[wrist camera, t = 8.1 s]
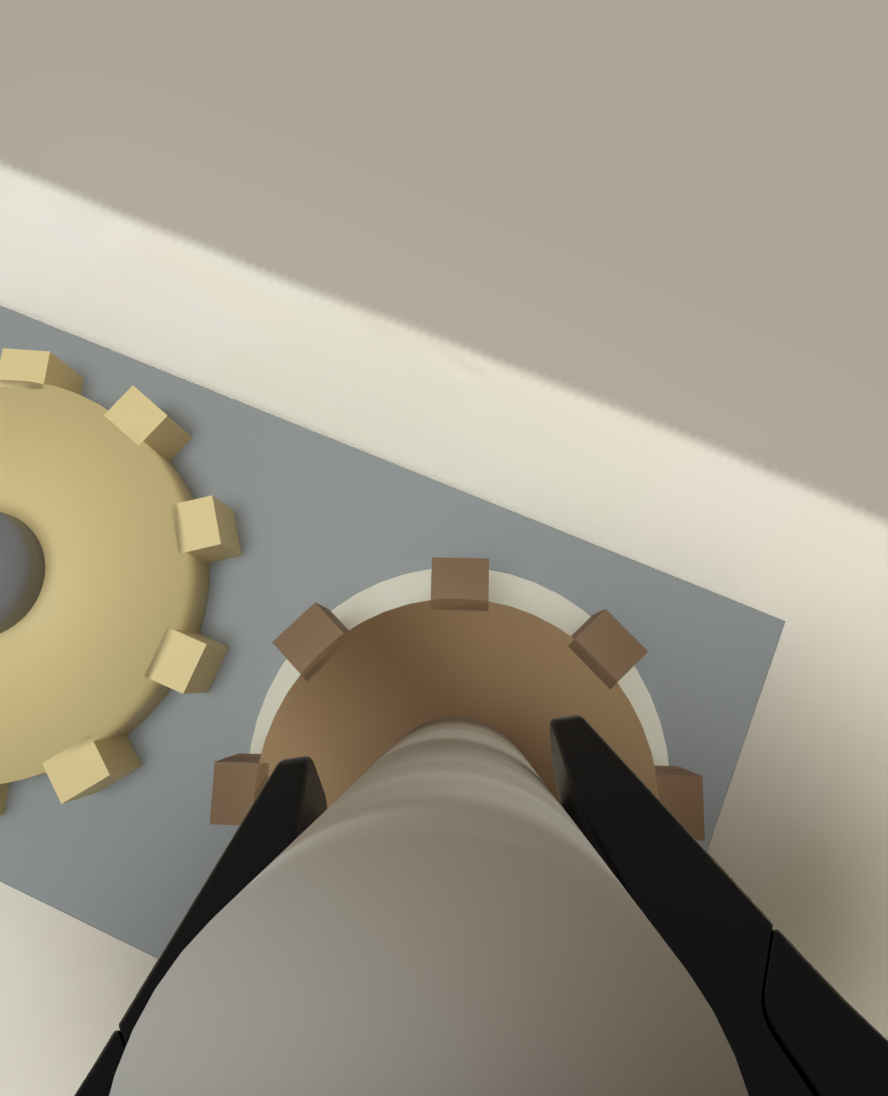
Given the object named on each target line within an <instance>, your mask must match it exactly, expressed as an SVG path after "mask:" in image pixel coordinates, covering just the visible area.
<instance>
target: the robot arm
mask: <svg viewBox="0 0 888 1096" xmlns="http://www.w3.org/2000/svg"><path fill="white" fill-rule="evenodd" d="M550 738H551V754H552V765H553V771H554V777H555V781H556V786H557V791H558V795H559V800H560V804H561V806H562V807H563V808H564V810H565V811H566V812H567V814H568V815H569V816H570V817H571V819H572V820H573V821H574V823H575V824H576V825H577V827H578V828H579V829H580V831H581V832H582V833H583V835H584V836H585V837H586V839H587V840H588V841H589V842H590V844H591V845H592V846H593V848H594V849H595V850H596V852H597V853H598V854H599V856H600V857H601V858H602V860H603V861H604V862H605V863H606V865H607V866H608V867H609V869H610V870H611V871H612V873H613V874H614V875H615V877H616V878H617V879H618V881H619V882H620V883H621V885H622V886H623V887H624V888H625V890H626V891H627V892H628V894H629V895H630V896H631V898H632V899H633V900H634V902H635V903H636V904H637V906H638V907H639V908H640V910H641V911H642V912H643V913H644V915H645V916H646V917H647V919H648V920H649V921H650V923H651V924H652V925H653V927H654V928H655V929H656V931H657V932H658V933H659V934H660V936H661V937H662V938H663V940H664V941H665V942H666V944H667V945H668V946H669V948H670V949H671V950H672V952H673V953H674V954H675V956H676V957H677V958H678V959H679V961H680V962H681V963H682V965H683V966H684V967H685V969H686V970H687V971H688V973H689V974H690V976H691V977H692V979H693V980H694V982H695V984H696V985H697V987H698V988H699V990H700V991H701V993H702V995H703V996H704V998H705V999H706V1001H707V1002H708V1004H709V1006H710V1007H711V1009H712V1010H713V1012H714V1014H715V1016H716V1018H717V1020H718V1022H719V1024H720V1026H721V1028H722V1030H723V1032H724V1034H725V1036H726V1038H727V1041H728V1043H729V1045H730V1047H731V1049H732V1051H733V1053H734V1055H735V1057H736V1060H737V1063H738V1066H739V1069H740V1072H741V1075H742V1078H743V1080H744V1083H745V1086H746V1089H747V1092H748V1095H749V1096H888V1040H887V1039H886V1038H885V1037H884V1036H882V1035H881V1034H880V1033H879V1032H878V1031H877V1030H876V1029H875V1028H874V1027H873V1026H872V1025H871V1024H870V1023H869V1022H868V1021H867V1020H866V1019H865V1018H863V1017H862V1016H861V1015H860V1014H859V1013H858V1012H857V1011H856V1010H855V1009H854V1008H853V1007H852V1006H851V1005H850V1004H849V1003H848V1002H847V1001H846V1000H845V999H844V998H843V997H842V996H841V995H840V994H839V993H838V992H837V991H836V990H835V989H834V988H833V987H832V986H831V985H830V984H829V983H828V982H827V981H826V980H825V979H824V978H823V976H822V975H821V974H820V973H819V972H818V971H817V970H816V969H815V968H814V967H813V966H812V965H811V964H810V963H809V962H808V961H807V960H806V959H805V958H804V957H803V956H802V954H801V953H800V952H799V951H798V950H797V949H796V948H795V947H794V946H793V945H792V944H791V942H790V941H789V940H788V939H787V938H786V937H785V936H784V935H783V934H782V933H781V932H780V931H779V930H774V931H773V923H772V922H771V921H770V920H769V919H768V918H767V917H766V916H765V915H764V913H763V912H762V911H761V910H760V909H759V908H758V907H757V906H756V905H755V904H754V903H753V901H752V900H751V899H750V898H749V897H748V896H747V895H746V894H745V893H744V892H743V891H742V889H741V888H740V887H739V886H738V885H737V884H736V883H735V882H734V881H733V880H732V879H731V877H730V876H729V875H728V874H727V873H726V872H725V871H724V870H723V869H722V868H721V867H720V865H719V864H718V863H717V862H716V861H715V860H714V859H713V858H712V857H711V856H710V855H709V853H708V852H707V851H706V850H705V849H704V848H703V847H702V846H701V845H700V844H699V843H698V841H697V840H696V839H695V838H694V837H693V836H692V835H691V834H690V833H689V832H688V831H687V829H686V828H685V827H684V826H683V825H682V824H681V823H680V822H679V821H678V820H677V819H676V818H675V816H674V815H673V814H672V813H671V812H670V811H669V810H668V809H667V808H666V807H665V806H664V804H663V803H662V802H661V801H660V800H659V799H658V798H657V797H656V796H655V795H654V794H653V792H652V791H651V790H650V789H649V788H648V787H647V786H646V785H645V784H644V783H643V782H642V780H641V779H640V778H639V777H638V776H637V775H636V774H635V773H634V772H633V771H632V770H631V768H630V767H629V766H628V765H627V764H626V763H625V762H624V761H623V760H622V759H621V758H620V756H619V755H618V754H617V753H616V752H615V751H614V750H613V749H612V748H611V747H610V746H609V744H608V743H607V742H606V741H605V740H604V739H603V738H602V737H601V736H600V735H599V734H598V732H597V731H596V730H595V729H594V728H593V727H592V726H591V725H590V724H589V723H588V722H587V720H585V719H584V718H583V717H582V716H580V715H570V716H564V717H557V718H554V719H552V720H551V722H550ZM326 810H327V801H326V796H325V792H324V790H323V787H322V784H321V781H320V778H319V775H318V773H317V770H316V767H315V764H314V762H313V760H312V759H311V758H310V757H308V756H303V757H297V758H290V759H285V760H282V761H280V762H279V763H278V764H277V765H276V767H275V768H274V770H273V772H272V773H271V775H270V777H269V778H268V780H267V781H266V783H265V785H264V786H263V788H262V790H261V791H260V793H259V795H258V796H257V798H256V800H255V801H254V803H253V805H252V806H251V808H250V809H249V811H248V813H247V814H246V816H245V818H244V819H243V821H242V823H241V824H240V826H239V828H238V829H237V831H236V832H235V834H234V836H233V837H232V839H231V841H230V842H229V844H228V846H227V847H226V849H225V851H224V852H223V854H222V856H221V857H220V859H219V860H218V862H217V864H216V865H215V867H214V869H213V870H212V872H211V874H210V875H209V877H208V879H207V880H206V882H205V883H204V885H203V887H202V888H201V890H200V892H199V893H198V895H197V897H196V898H195V900H194V902H193V903H192V905H191V907H190V908H189V910H188V911H187V913H186V915H185V916H184V918H183V920H182V921H181V923H180V925H179V926H178V928H177V930H176V931H175V933H174V934H173V936H172V938H171V939H170V941H169V943H168V944H167V946H166V948H165V949H164V951H163V953H162V954H161V956H160V958H159V959H158V961H157V962H156V964H155V966H154V967H153V969H152V971H151V972H150V974H149V976H148V977H147V979H146V981H145V982H144V984H143V985H142V987H141V989H140V990H139V992H138V994H137V995H136V997H135V999H134V1000H133V1002H132V1004H131V1005H130V1007H129V1009H128V1010H127V1012H126V1013H125V1015H124V1017H123V1018H122V1020H121V1022H120V1023H119V1028H120V1031H119V1030H117V1031H115V1032H114V1033H113V1034H112V1036H111V1038H110V1039H109V1041H108V1043H107V1044H106V1046H105V1047H104V1049H103V1051H102V1052H101V1054H100V1056H99V1057H98V1059H97V1061H96V1062H95V1064H94V1066H93V1067H92V1069H91V1070H90V1072H89V1073H88V1075H87V1077H86V1078H85V1080H84V1081H83V1083H82V1084H81V1086H80V1088H79V1089H78V1091H77V1092H76V1094H75V1095H74V1096H109V1094H110V1090H111V1087H112V1083H113V1079H114V1076H115V1073H116V1070H117V1068H118V1065H119V1063H120V1060H121V1058H122V1055H123V1053H124V1051H125V1048H126V1046H127V1043H128V1041H129V1038H130V1036H131V1033H132V1031H133V1029H134V1027H135V1025H136V1023H137V1021H138V1020H139V1018H140V1016H141V1014H142V1012H143V1010H144V1009H145V1007H146V1005H147V1003H148V1001H149V999H150V997H151V996H152V994H153V992H154V990H155V989H156V987H157V986H158V984H159V983H160V982H161V980H162V979H163V977H164V976H165V975H166V973H167V972H168V970H169V969H170V968H171V966H172V965H173V963H174V962H175V960H176V959H177V958H178V956H179V955H180V953H181V952H182V951H183V950H184V949H185V948H186V947H187V946H188V945H189V943H190V942H191V941H192V940H193V939H194V938H195V937H196V936H197V935H198V934H199V933H200V931H201V930H202V929H203V928H204V927H205V926H206V925H207V924H208V923H209V922H210V920H212V919H213V918H214V917H215V916H216V915H217V914H218V913H219V912H220V911H221V910H222V909H223V908H224V907H225V906H226V905H227V904H228V903H229V902H230V901H231V900H232V899H234V898H235V897H236V896H237V895H238V894H239V893H240V892H241V891H242V890H243V889H244V888H245V887H246V886H247V885H248V884H249V883H250V882H251V881H252V880H253V879H254V878H256V877H257V876H258V875H259V874H260V873H261V872H262V871H263V870H264V869H265V868H266V867H267V866H268V865H269V864H270V863H271V862H272V861H273V860H274V859H275V858H276V857H278V856H279V855H280V854H281V853H282V852H283V851H284V850H285V849H286V848H287V847H288V846H289V845H290V844H291V843H292V842H293V841H294V840H295V839H296V838H297V837H299V836H300V835H301V834H302V833H303V832H304V831H305V830H306V829H307V828H308V827H309V826H310V825H311V824H312V823H313V822H314V821H315V820H316V819H317V818H318V817H319V816H321V815H322V814H323V813H324V812H325V811H326Z"/></svg>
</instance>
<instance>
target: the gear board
mask: <svg viewBox="0 0 888 1096" xmlns="http://www.w3.org/2000/svg"><path fill="white" fill-rule="evenodd" d="M432 557H440V558H489V602H493V603H498V604H502V605H507V606H511V607H514V608H516V609H519V610H522V611H525V612H527V613H530V614H533V615H535V616H537V617H539V618H541V619H543V620H545V621H547V622H549V623H551V624H552V625H554V626H556V627H558V628H559V629H561V630H562V631H564V632H565V633H567V634H568V635H569V636H572V635H573V634H574V633H575V632H576V631H577V630H578V629H579V628H580V627H581V626H582V625H583V624H584V623H585V622H586V621H587V620H588V619H589V618H590V617H591V616H592V615H594V614H596V613H598V612H600V611H602V610H604V609H606V610H607V611H608V612H609V613H610V614H611V615H612V616H613V617H614V618H615V619H616V620H617V621H618V622H619V623H620V624H621V625H622V626H623V627H624V628H625V629H626V630H627V631H628V632H629V633H630V634H631V635H632V636H633V637H634V638H635V639H636V640H637V641H638V642H639V643H640V644H641V645H642V646H643V647H644V648H645V649H646V650H647V651H648V652H647V653H646V654H645V655H644V656H643V657H642V658H641V659H640V660H639V661H638V662H637V663H636V664H635V665H634V666H633V667H632V668H631V669H630V670H629V671H628V672H627V673H626V674H625V675H624V676H623V677H622V678H621V679H620V680H619V681H618V682H617V683H618V684H619V686H620V687H621V689H622V690H623V692H624V693H625V695H626V696H627V698H628V699H629V701H630V702H631V704H632V706H633V708H634V710H635V712H636V714H637V716H638V718H639V720H640V722H641V724H642V727H643V730H644V732H645V735H646V738H647V741H648V744H649V747H650V749H651V752H652V757H653V762H654V766H679V767H682V768H684V769H686V770H689V771H691V772H694V773H696V774H699V775H701V776H703V801H704V828H705V841H702V840H697V841H698V843H699V844H700V845H701V846H702V847H703V848H704V849H705V850H706V851H707V848H708V845H709V842H710V839H711V837H712V834H713V831H714V828H715V825H716V822H717V819H718V816H719V813H720V810H721V807H722V804H723V802H724V799H725V796H726V793H727V790H728V787H729V784H730V781H731V778H732V775H733V772H734V769H735V767H736V764H737V761H738V758H739V755H740V752H741V749H742V746H743V743H744V740H745V737H746V734H747V732H748V729H749V726H750V723H751V720H752V717H753V714H754V711H755V708H756V705H757V702H758V699H759V697H760V694H761V691H762V688H763V685H764V682H765V679H766V676H767V673H768V670H769V667H770V664H771V662H772V659H773V656H774V653H775V650H776V647H777V644H778V641H779V638H780V635H781V632H782V629H783V627H784V624H785V621H783V620H781V619H778V618H776V617H773V616H771V615H768V614H766V613H763V612H761V611H758V610H756V609H753V608H751V607H748V606H746V605H743V604H741V603H738V602H736V601H733V600H731V599H728V598H726V597H723V596H721V595H718V594H716V593H714V592H711V591H709V590H706V589H704V588H701V587H699V586H696V585H694V584H691V583H689V582H686V581H684V580H681V579H679V578H676V577H674V576H671V575H669V574H666V573H664V572H661V571H659V570H656V569H654V568H651V567H649V566H646V565H644V564H641V563H639V562H636V561H634V560H631V559H629V558H626V557H624V556H621V555H619V554H617V553H614V552H612V551H609V550H607V549H604V548H602V547H599V546H597V545H594V544H592V543H589V542H587V541H584V540H582V539H579V538H577V537H574V536H572V535H569V534H567V533H564V532H562V531H559V530H557V529H554V528H552V527H549V526H547V525H544V524H542V523H539V522H537V521H534V520H532V519H529V518H527V517H524V516H522V515H520V514H517V513H515V512H512V511H510V510H507V509H505V508H502V507H500V506H497V505H495V504H492V503H490V502H487V501H485V500H482V499H480V498H477V497H475V496H472V495H470V494H467V493H465V492H462V491H460V490H457V489H455V488H452V487H450V486H447V485H445V484H442V483H440V482H437V481H435V480H432V479H430V478H427V477H425V476H423V475H420V474H418V473H415V472H413V471H410V470H408V469H405V468H403V467H400V466H398V465H395V464H393V463H390V462H388V461H385V460H383V459H380V458H378V457H375V456H373V455H370V454H368V453H365V452H363V451H360V450H358V449H355V448H353V447H350V446H348V445H345V444H343V443H340V442H338V441H335V440H333V439H330V438H328V437H326V436H323V435H321V434H318V433H316V432H313V431H311V430H308V429H306V428H303V427H301V426H298V425H296V424H293V423H291V422H288V421H286V420H283V419H281V418H278V417H276V416H273V415H271V414H268V413H266V412H263V411H261V410H258V409H256V408H253V407H251V406H248V405H246V404H243V403H241V402H238V401H236V400H233V399H231V398H229V397H226V396H224V395H221V394H219V393H216V392H214V391H211V390H209V389H206V388H204V387H201V386H199V385H196V384H194V383H191V382H189V381H186V380H184V379H181V378H179V377H176V376H174V375H171V374H169V373H166V372H164V371H161V370H159V369H156V368H154V367H151V366H149V365H146V364H144V363H141V362H139V361H136V360H134V359H132V358H129V357H127V356H124V355H122V354H119V353H117V352H114V351H112V350H109V349H107V348H104V347H102V346H99V345H97V344H94V343H92V342H89V341H87V340H84V339H82V338H79V337H77V336H74V335H72V334H69V333H67V332H64V331H62V330H59V329H57V328H54V327H52V326H49V325H47V324H44V323H42V322H39V321H37V320H34V319H32V318H30V317H27V316H25V315H22V314H20V313H17V312H15V311H12V310H10V309H7V308H5V307H2V306H0V881H1V882H3V883H5V884H7V885H9V886H11V887H13V888H15V889H17V890H19V891H21V892H23V893H25V894H27V895H29V896H31V897H33V898H35V899H37V900H39V901H41V902H43V903H45V904H47V905H50V906H52V907H54V908H56V909H58V910H60V911H62V912H64V913H66V914H68V915H70V916H72V917H74V918H76V919H78V920H80V921H82V922H84V923H86V924H88V925H90V926H92V927H94V928H96V929H98V930H101V931H103V932H105V933H107V934H109V935H111V936H113V937H115V938H117V939H119V940H121V941H123V942H125V943H127V944H129V945H131V946H133V947H135V948H137V949H139V950H141V951H143V952H145V953H147V954H150V955H152V956H154V957H156V958H158V959H159V958H160V956H161V954H162V953H163V951H164V949H165V948H166V946H167V944H168V943H169V941H170V939H171V938H172V936H173V934H174V933H175V931H176V930H177V928H178V926H179V925H180V923H181V921H182V920H183V918H184V916H185V915H186V913H187V911H188V910H189V908H190V907H191V905H192V903H193V902H194V900H195V898H196V897H197V895H198V893H199V892H200V890H201V888H202V887H203V885H204V883H205V882H206V880H207V879H208V877H209V875H210V874H211V872H212V870H213V869H214V867H215V865H216V864H217V862H218V860H219V859H220V857H221V856H222V854H223V852H224V851H225V849H226V847H227V846H228V844H229V842H230V841H231V839H232V837H233V836H234V834H235V832H236V831H237V829H238V828H239V826H240V825H213V824H210V813H211V801H212V788H213V776H214V763H215V761H218V760H221V759H224V758H227V757H230V756H233V755H236V754H239V753H246V754H261V753H262V750H263V746H264V742H265V739H266V736H267V734H268V731H269V729H270V726H271V724H272V721H273V719H274V716H275V714H276V712H277V711H278V709H279V707H280V705H281V703H282V702H283V700H284V698H285V696H286V694H287V692H288V691H289V690H290V688H291V687H292V686H293V684H294V683H295V681H296V680H297V679H298V677H299V676H300V675H301V674H300V673H299V672H298V671H297V670H296V669H295V667H294V666H293V665H292V664H291V663H290V662H289V661H288V660H287V658H286V657H285V656H284V655H283V654H282V653H281V652H280V651H279V650H278V648H277V647H276V646H275V645H274V644H273V643H272V642H273V641H274V640H275V639H276V638H277V637H278V636H279V635H280V634H281V633H282V632H284V631H285V630H286V629H287V628H288V627H289V626H290V625H291V624H292V623H293V622H294V621H295V620H296V619H298V618H299V617H300V616H301V615H302V614H303V613H304V612H305V611H306V610H307V609H308V608H309V607H310V606H312V605H313V604H314V603H315V602H316V603H318V604H320V605H322V606H324V607H326V608H328V609H329V610H330V611H331V612H332V613H333V614H334V615H335V616H336V617H337V618H338V619H339V620H340V621H341V623H342V624H343V625H344V626H345V627H346V628H347V629H348V630H351V629H352V628H354V627H355V626H357V625H358V624H360V623H362V622H364V621H366V620H368V619H370V618H372V617H374V616H377V615H379V614H381V613H383V612H385V611H388V610H391V609H395V608H398V607H401V606H404V605H407V604H411V603H417V602H423V601H429V600H431V569H432Z"/></svg>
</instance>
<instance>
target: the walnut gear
mask: <svg viewBox="0 0 888 1096" xmlns="http://www.w3.org/2000/svg"><path fill="white" fill-rule="evenodd" d="M272 643H273V644H274V645H275V646H276V647H277V648H278V650H279V651H280V652H281V653H282V654H283V655H284V656H285V657H286V658H287V660H288V661H289V662H290V663H291V664H292V665H293V666H294V667H295V669H296V670H297V671H298V672H299V673H300V674H301V675H300V676H299V677H298V679H297V680H296V681H295V683H294V684H293V686H292V687H291V688H290V690H289V691H288V692H287V694H286V696H285V698H284V700H283V702H282V703H281V705H280V707H279V709H278V711H277V712H276V714H275V716H274V719H273V721H272V724H271V726H270V729H269V731H268V734H267V736H266V739H265V742H264V746H263V750H262V753H261V754H246V753H239V754H236V755H233V756H230V757H227V758H224V759H221V760H218V761H215V763H214V776H213V788H212V801H211V813H210V824H213V825H240V824H241V823H242V821H243V819H244V818H245V816H246V814H247V813H248V811H249V809H250V808H251V806H252V805H253V803H254V801H255V800H256V798H257V796H258V795H259V793H260V791H261V790H262V788H263V786H264V785H265V783H266V781H267V780H268V778H269V777H270V775H271V773H272V772H273V770H274V768H275V767H276V765H277V764H278V763H279V762H280V761H282V760H285V759H290V758H297V757H303V756H308V757H310V758H311V759H312V760H313V762H314V764H315V767H316V770H317V773H318V775H319V778H320V781H321V784H322V787H323V790H324V792H325V796H326V801H327V810H326V811H325V812H324V813H323V814H322V815H321V816H319V817H318V818H317V819H316V820H315V821H314V822H313V823H312V824H311V825H310V826H309V827H308V828H307V829H306V830H305V831H304V832H303V833H302V834H301V835H300V836H299V837H297V838H296V839H295V840H294V841H293V842H292V843H291V844H290V845H289V846H288V847H287V848H286V849H285V850H284V851H283V852H282V853H281V854H280V855H279V856H278V857H276V858H275V859H274V860H273V861H272V862H271V863H270V864H269V865H268V866H267V867H266V868H265V869H264V870H263V871H262V872H261V873H260V874H259V875H258V876H257V877H256V878H254V879H253V880H252V881H251V882H250V883H249V884H248V885H247V886H246V887H245V888H244V889H243V890H242V891H241V892H240V893H239V894H238V895H237V896H236V897H235V898H234V899H232V900H231V901H230V902H229V903H228V904H227V905H226V906H225V907H224V908H223V909H222V910H221V911H220V912H219V913H218V914H217V915H216V916H215V917H214V918H213V919H212V920H210V922H209V923H208V924H207V925H206V926H205V927H204V928H203V929H202V930H201V931H200V933H199V934H198V935H197V936H196V937H195V938H194V939H193V940H192V941H191V942H190V943H189V945H188V946H187V947H186V948H185V949H184V950H183V951H182V952H181V953H180V955H179V956H178V958H177V959H176V960H175V962H174V963H173V965H172V966H171V968H170V969H169V970H168V972H167V973H166V975H165V976H164V977H163V979H162V980H161V982H160V983H159V984H158V986H157V987H156V989H155V990H154V992H153V994H152V996H151V997H150V999H149V1001H148V1003H147V1005H146V1007H145V1009H144V1010H143V1012H142V1014H141V1016H140V1018H139V1020H138V1021H137V1023H136V1025H135V1027H134V1029H133V1031H132V1033H131V1036H130V1038H129V1041H128V1043H127V1046H126V1048H125V1051H124V1053H123V1055H122V1058H121V1060H120V1063H119V1065H118V1068H117V1070H116V1073H115V1076H114V1079H113V1083H112V1087H111V1090H110V1094H109V1096H749V1095H748V1092H747V1089H746V1086H745V1083H744V1080H743V1078H742V1075H741V1072H740V1069H739V1066H738V1063H737V1060H736V1057H735V1055H734V1053H733V1051H732V1049H731V1047H730V1045H729V1043H728V1041H727V1038H726V1036H725V1034H724V1032H723V1030H722V1028H721V1026H720V1024H719V1022H718V1020H717V1018H716V1016H715V1014H714V1012H713V1010H712V1009H711V1007H710V1006H709V1004H708V1002H707V1001H706V999H705V998H704V996H703V995H702V993H701V991H700V990H699V988H698V987H697V985H696V984H695V982H694V980H693V979H692V977H691V976H690V974H689V973H688V971H687V970H686V969H685V967H684V966H683V965H682V963H681V962H680V961H679V959H678V958H677V957H676V956H675V954H674V953H673V952H672V950H671V949H670V948H669V946H668V945H667V944H666V942H665V941H664V940H663V938H662V937H661V936H660V934H659V933H658V932H657V931H656V929H655V928H654V927H653V925H652V924H651V923H650V921H649V920H648V919H647V917H646V916H645V915H644V913H643V912H642V911H641V910H640V908H639V907H638V906H637V904H636V903H635V902H634V900H633V899H632V898H631V896H630V895H629V894H628V892H627V891H626V890H625V888H624V887H623V886H622V885H621V883H620V882H619V881H618V879H617V878H616V877H615V875H614V874H613V873H612V871H611V870H610V869H609V867H608V866H607V865H606V863H605V862H604V861H603V860H602V858H601V857H600V856H599V854H598V853H597V852H596V850H595V849H594V848H593V846H592V845H591V844H590V842H589V841H588V840H587V839H586V837H585V836H584V835H583V833H582V832H581V831H580V829H579V828H578V827H577V825H576V824H575V823H574V821H573V820H572V819H571V817H570V816H569V815H568V814H567V812H566V811H565V810H564V808H563V807H562V806H561V804H560V800H559V795H558V791H557V786H556V781H555V777H554V771H553V765H552V754H551V738H550V722H551V720H552V719H554V718H557V717H564V716H570V715H580V716H582V717H583V718H584V719H585V720H587V722H588V723H589V724H590V725H591V726H592V727H593V728H594V729H595V730H596V731H597V732H598V734H599V735H600V736H601V737H602V738H603V739H604V740H605V741H606V742H607V743H608V744H609V746H610V747H611V748H612V749H613V750H614V751H615V752H616V753H617V754H618V755H619V756H620V758H621V759H622V760H623V761H624V762H625V763H626V764H627V765H628V766H629V767H630V768H631V770H632V771H633V772H634V773H635V774H636V775H637V776H638V777H639V778H640V779H641V780H642V782H643V783H644V784H645V785H646V786H647V787H648V788H649V789H650V790H651V791H652V792H653V794H654V795H655V796H656V797H657V798H658V799H659V800H660V801H661V802H662V803H663V804H664V806H665V807H666V808H667V809H668V810H669V811H670V812H671V813H672V814H673V815H674V816H675V818H676V819H677V820H678V821H679V822H680V823H681V824H682V825H683V826H684V827H685V828H686V829H687V831H688V832H689V833H690V834H691V835H692V836H693V837H694V838H695V839H696V840H702V841H705V828H704V801H703V776H701V775H699V774H696V773H694V772H691V771H689V770H686V769H684V768H682V767H679V766H654V762H653V757H652V752H651V749H650V747H649V744H648V741H647V738H646V735H645V732H644V730H643V727H642V724H641V722H640V720H639V718H638V716H637V714H636V712H635V710H634V708H633V706H632V704H631V702H630V701H629V699H628V698H627V696H626V695H625V693H624V692H623V690H622V689H621V687H620V686H619V684H618V683H617V682H618V681H619V680H620V679H621V678H622V677H623V676H624V675H625V674H626V673H627V672H628V671H629V670H630V669H631V668H632V667H633V666H634V665H635V664H636V663H637V662H638V661H639V660H640V659H641V658H642V657H643V656H644V655H645V654H646V653H647V652H648V651H647V650H646V649H645V648H644V647H643V646H642V645H641V644H640V643H639V642H638V641H637V640H636V639H635V638H634V637H633V636H632V635H631V634H630V633H629V632H628V631H627V630H626V629H625V628H624V627H623V626H622V625H621V624H620V623H619V622H618V621H617V620H616V619H615V618H614V617H613V616H612V615H611V614H610V613H609V612H608V611H607V610H606V609H604V610H602V611H600V612H598V613H596V614H594V615H592V616H591V617H590V618H589V619H588V620H587V621H586V622H585V623H584V624H583V625H582V626H581V627H580V628H579V629H578V630H577V631H576V632H575V633H574V634H573V635H572V636H569V635H568V634H567V633H565V632H564V631H562V630H561V629H559V628H558V627H556V626H554V625H552V624H551V623H549V622H547V621H545V620H543V619H541V618H539V617H537V616H535V615H533V614H530V613H527V612H525V611H522V610H519V609H516V608H514V607H511V606H507V605H502V604H498V603H493V602H489V558H440V557H432V569H431V600H429V601H423V602H417V603H411V604H407V605H404V606H401V607H398V608H395V609H391V610H388V611H385V612H383V613H381V614H379V615H377V616H374V617H372V618H370V619H368V620H366V621H364V622H362V623H360V624H358V625H357V626H355V627H354V628H352V629H351V630H348V629H347V628H346V627H345V626H344V625H343V624H342V623H341V621H340V620H339V619H338V618H337V617H336V616H335V615H334V614H333V613H332V612H331V611H330V610H329V609H328V608H326V607H324V606H322V605H320V604H318V603H316V602H315V603H314V604H313V605H312V606H310V607H309V608H308V609H307V610H306V611H305V612H304V613H303V614H302V615H301V616H300V617H299V618H298V619H296V620H295V621H294V622H293V623H292V624H291V625H290V626H289V627H288V628H287V629H286V630H285V631H284V632H282V633H281V634H280V635H279V636H278V637H277V638H276V639H275V640H274V641H273V642H272Z"/></svg>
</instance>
